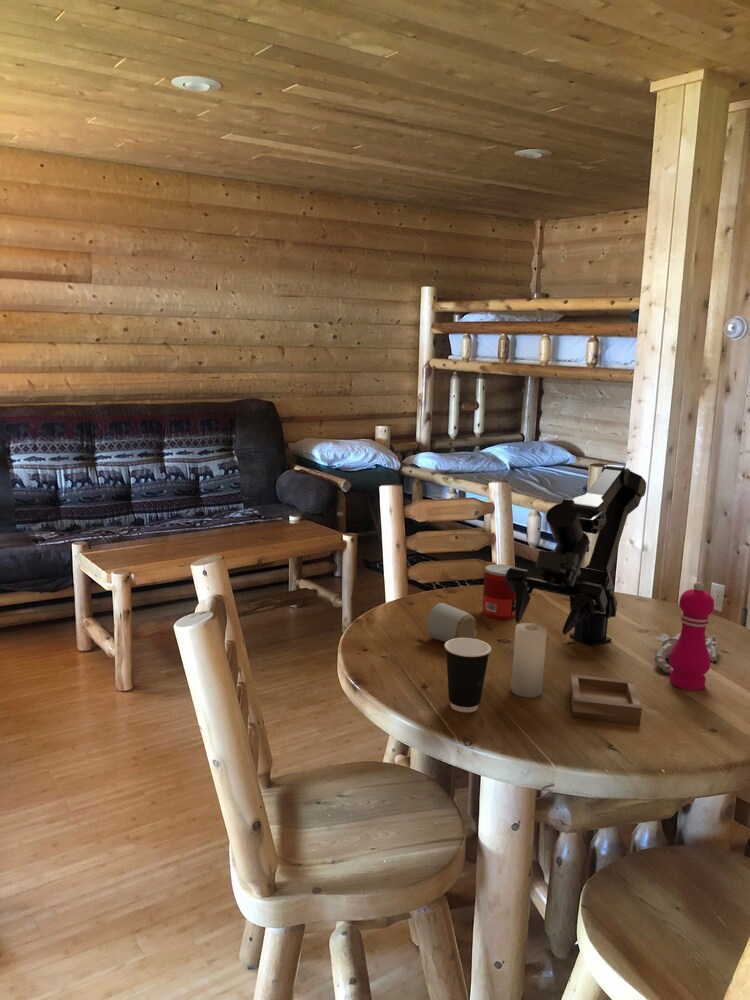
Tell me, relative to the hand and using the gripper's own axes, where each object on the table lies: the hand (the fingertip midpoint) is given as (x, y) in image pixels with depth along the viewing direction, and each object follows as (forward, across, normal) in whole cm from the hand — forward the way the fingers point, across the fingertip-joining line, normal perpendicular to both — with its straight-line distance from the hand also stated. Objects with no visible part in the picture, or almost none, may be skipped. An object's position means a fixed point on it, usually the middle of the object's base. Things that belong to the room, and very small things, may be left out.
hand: (539, 627), depth 146 cm
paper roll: (+10, 0, +5) cm, 12 cm away
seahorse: (-14, +19, +29) cm, 38 cm away
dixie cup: (+20, -6, -4) cm, 21 cm away
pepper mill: (-5, +23, +21) cm, 31 cm away
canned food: (-14, -22, +30) cm, 40 cm away
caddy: (+9, +13, +7) cm, 17 cm away
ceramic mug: (+1, -23, +15) cm, 27 cm away
